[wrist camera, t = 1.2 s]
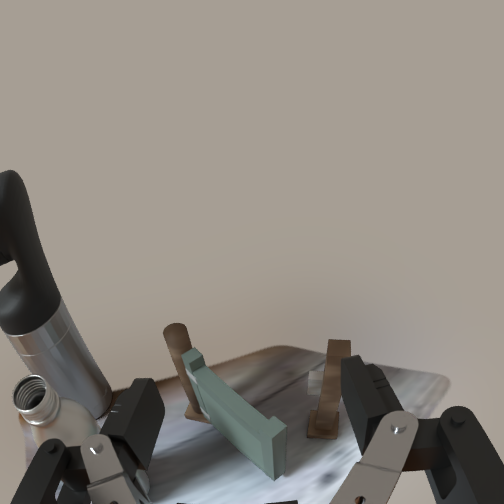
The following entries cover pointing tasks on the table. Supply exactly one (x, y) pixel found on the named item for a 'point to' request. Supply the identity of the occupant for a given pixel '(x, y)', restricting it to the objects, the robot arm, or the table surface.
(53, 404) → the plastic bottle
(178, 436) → the table surface
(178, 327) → the hinge post
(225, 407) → the gate
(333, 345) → the post
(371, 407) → the robot arm
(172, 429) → the table surface
